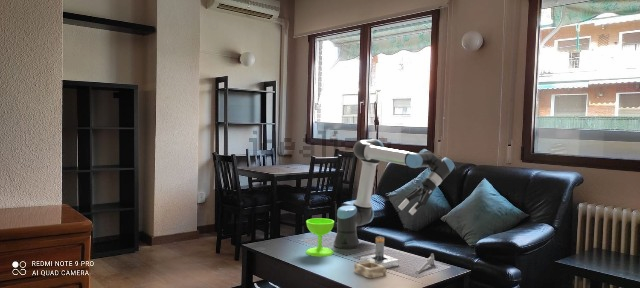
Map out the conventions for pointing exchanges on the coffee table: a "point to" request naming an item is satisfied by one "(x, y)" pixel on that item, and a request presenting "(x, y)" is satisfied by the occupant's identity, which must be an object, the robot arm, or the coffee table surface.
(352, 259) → the coffee table surface
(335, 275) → the coffee table surface
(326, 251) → the wineglass
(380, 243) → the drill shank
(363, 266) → the tan open tray
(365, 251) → the coffee table surface
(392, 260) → the socket block
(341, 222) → the robot arm
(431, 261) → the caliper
